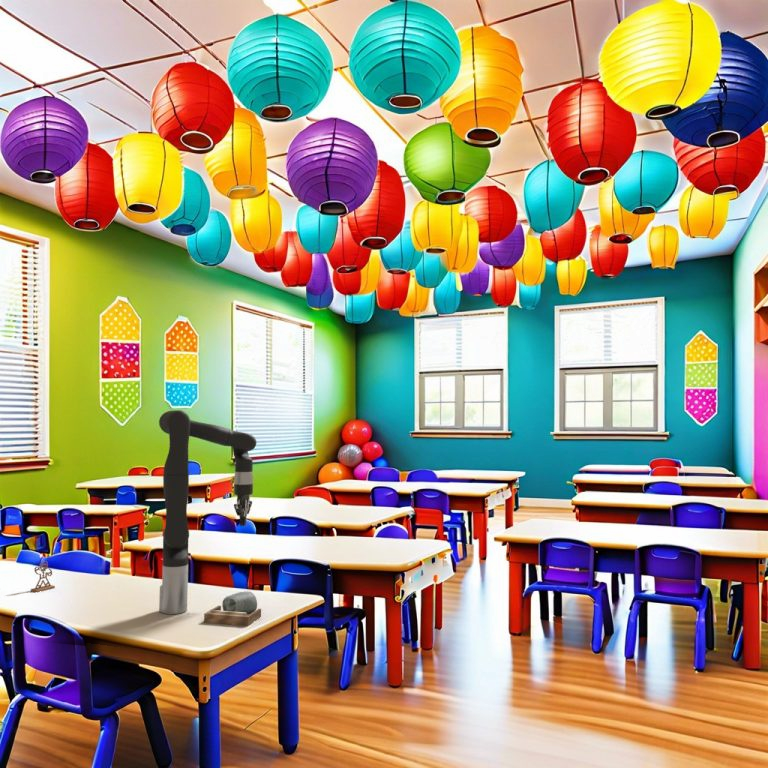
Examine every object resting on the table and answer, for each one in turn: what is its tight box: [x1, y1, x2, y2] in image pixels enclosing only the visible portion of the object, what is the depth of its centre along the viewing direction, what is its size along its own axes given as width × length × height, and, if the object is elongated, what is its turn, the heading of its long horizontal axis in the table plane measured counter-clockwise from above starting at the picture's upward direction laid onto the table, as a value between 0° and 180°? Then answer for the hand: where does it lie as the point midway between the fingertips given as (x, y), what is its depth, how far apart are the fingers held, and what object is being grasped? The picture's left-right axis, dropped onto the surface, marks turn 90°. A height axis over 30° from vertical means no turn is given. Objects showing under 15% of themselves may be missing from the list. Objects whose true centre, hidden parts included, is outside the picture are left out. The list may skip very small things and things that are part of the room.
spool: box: [221, 590, 258, 614], centre depth 252 cm, size 14×10×10 cm
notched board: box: [203, 605, 262, 627], centre depth 246 cm, size 17×11×4 cm, turn 77°
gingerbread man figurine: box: [30, 560, 56, 593], centre depth 287 cm, size 9×4×12 cm, turn 154°
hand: (242, 525), depth 277 cm, fingers closed
